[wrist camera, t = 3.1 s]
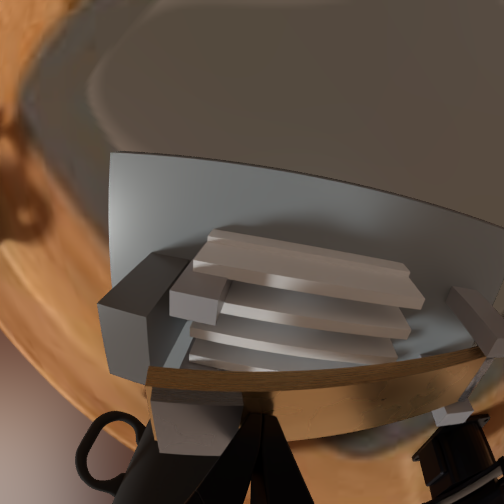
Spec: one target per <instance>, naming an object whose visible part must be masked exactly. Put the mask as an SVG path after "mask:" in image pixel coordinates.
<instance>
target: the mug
mask: <svg viewBox="0 0 504 504" xmlns="http://www.w3.org/2000/svg"><path fill="white" fill-rule="evenodd" d="M118 420H119V421H124V422H126V423H128V424H129V425H131V426H132V427H133V428H134V430H135V433H136V442H137V445H138V446H137V448H136V450H135V453H134V455H133V457H132V460H131V462H130V464H129V466H128V468H127V471H126V473H121V474H119V475H118V476H116V477H115V478H113V479H111V480H106V481H100V480H96V479H94V478H93V477H92V476H91V475H90V473H89V471H88V468H87V455H88V452H89V451H90V449H91V447H92V445H93V443H94V442H95V440H96V438H97V436H98V434H99V433H100V431H101V430H102V428H103V427H104V426H105V425H107V424H108V423H110V422H113V421H118ZM219 457H220V456H202V455H182V454H168V453H160V452H159V447H158V442H157V440H155V439H154V435H153V430H152V424H151V419H150V420H149V422H148V424H147V426H146V427H145V426H144V425H143V424H142V423H141V422H140V421H139V420H138V419H137V418H135V417H134V416H132V415H130V414H127V413H124V412H120V411H111V412H107V413H105V414H102V415H101V416H99V417H98V418H97V419H95V420H94V422H93V423H92V424H91V426H90V427H89V429H88V431H87V433H86V434H85V436H84V438H83V439H82V441H81V443H80V445H79V447H78V449H77V451H76V456H75V464H76V469H77V472H78V474H79V476H80V478H81V479H82V480H83V481H84V482H85V483H86V484H87V485H88V486H89V487H91V488H93V489H95V490H99V491H103V492H107V493H109V494H111V495H112V496H114V497H115V498H114V501H113V503H112V504H184V503H185V502H186V501H187V499H188V498H189V497H190V496H191V494H192V493H193V492H194V491H195V490H196V488H197V487H198V486H199V484H200V483H201V482H202V480H203V479H204V478H205V476H206V475H207V474H208V472H209V471H210V469H211V468H212V467H213V465H214V464H215V463H216V461H217V460H218V458H219Z"/></svg>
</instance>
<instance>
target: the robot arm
mask: <svg viewBox="0 0 504 504" xmlns="http://www.w3.org/2000/svg"><path fill="white" fill-rule="evenodd" d="M489 419H490V416H489V414H486V415H480V416H475V417H468V418H467V420H466V421H465V422H464V423H460V424H453V425H445V426H440V427H439V428H438V429H437V431H436V432H435V433H434V434H433V435H432V436H431V437H430V439H429V440H428V441H427V442H426V443H425V444H424V445H423V446H422V447H421V448H420V449H419V450H418V451H417V452H416V453H415V454H414V455H413V457H412V460H413V461H420V464H421V468H422V472H423V476H424V480H425V484H426V486H427V487H428V486H429V487H430V492H431V496H432V500H430V501H428V502H426V503H422V504H504V456H502V457H501V458H499V459H498V461H495V458H494V456H493V453H492V451H491V448H490V446H489V443H488V441H487V439H486V436H485V434H484V432H483V430H482V427H483V426H484V425H485V424H486V423H487V422H488V421H489ZM502 474H503V477H502V478H501V479H499V480H498V479H497V477H499V476H500V475H502ZM250 481H251V499H250V504H314V501H313V499H312V497H311V495H310V493H309V490H308V488H307V486H306V484H305V481H304V479H303V477H302V475H301V472H300V470H299V468H298V466H297V463H296V461H295V459H294V456H293V454H292V452H291V449H290V447H289V445H288V442H287V440H286V437H285V435H284V433H283V430H282V428H281V425H280V423H279V421H278V418H277V417H276V416H274V415H267V414H264V415H262V414H260V413H252V412H251V413H249V414H248V416H247V417H246V419H245V420H244V422H243V423H242V425H241V426H240V428H239V429H238V431H237V432H236V434H235V435H234V437H233V438H232V440H231V441H230V443H229V444H228V446H227V447H226V448H225V450H224V451H223V453H222V454H221V456H220V457H219V458H218V460H217V461H216V463H215V464H214V465H213V467H212V468H211V469H210V471H209V472H208V474H207V475H206V476H205V478H204V479H203V480H202V482H201V483H200V484H199V486H198V487H197V488H196V490H195V491H194V492H193V493H192V494H191V496H190V497H189V498H188V499H187V501H186V502H185V503H184V504H243V503H244V500H245V497H246V494H247V491H248V487H249V484H250Z"/></svg>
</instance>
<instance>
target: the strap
mask: <svg viewBox="0 0 504 504" xmlns="http://www.w3.org/2000/svg"><path fill="white" fill-rule="evenodd" d="M494 358H495V357H489V358H486V356H485V355H484V353H483V352H482V350H481V349H480V348H479V346H478V345H477V346H476V347H471V348H467V349H463V350H458V351H454V352H449V353H444V354H439V355H434V356H429V357H423V358H417V359H411V360H405V361H398V362H391V363H383V364H375V365H367V366H357V367H347V368H335V369H321V370H303V371H267V372H245V371H210V370H191V369H177V368H165V367H155V366H148V372H147V377H146V383H145V390H146V396H147V402H148V408H149V414H150V419H151V424H152V430H153V435H154V439H155V440H157V442H158V447H159V452H160V453H168V454H182V455H202V456H221V454H222V453H223V451H224V450H225V448H226V447H227V446H228V444H229V443H230V441H231V440H232V438H233V437H234V435H235V434H236V432H237V431H238V429H239V428H240V426H241V425H242V423H243V422H244V420H245V419H246V417H247V416H248V414H249V413H251V412H252V413H260V414H262V415H264V414H267V415H274V416H276V417H277V418H278V421H279V423H280V425H281V428H282V430H283V433H284V435H285V437H286V440H287V441H295V440H304V439H312V438H319V437H326V436H332V435H338V434H344V433H349V432H354V431H359V430H364V429H369V428H373V427H377V426H382V425H386V424H390V423H393V422H397V421H401V420H404V419H408V418H411V417H415V416H418V415H421V414H424V413H427V412H430V411H433V410H436V409H439V408H442V407H445V406H447V405H450V404H453V403H455V402H458V401H460V402H464V401H466V400H467V398H468V397H469V396H470V394H471V393H472V391H473V390H474V389H475V387H476V386H477V384H478V383H479V382H480V380H481V379H482V377H483V376H484V374H485V373H486V371H487V369H488V368H489V366H490V365H491V363H492V362H493V360H494Z"/></svg>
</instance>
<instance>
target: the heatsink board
mask: <svg viewBox="0 0 504 504" xmlns="http://www.w3.org/2000/svg"><path fill="white" fill-rule="evenodd" d="M109 248H110V266H111V280H112V289H111V290H110V291H109V292H108V293H107V294H106V295H105V296H104V297H103V298H102V299H101V300H100V301H99V302H98V303H97V306H98V313H99V319H100V325H101V331H102V337H103V342H104V347H105V352H106V357H107V362H108V366H109V371H110V374H113V375H116V376H119V377H122V378H125V379H127V380H130V381H133V382H137V383H140V384H143V385H145V383H146V377H147V372H148V366H155V367H165V368H177V369H191V370H210V371H245V372H267V371H303V370H321V369H335V368H347V367H357V366H367V365H375V364H383V363H391V362H398V361H405V360H411V359H417V358H423V357H429V356H434V355H439V354H444V353H449V352H454V351H458V350H463V349H467V348H471V347H472V345H473V343H474V341H475V342H476V343H477V345H478V346H479V348H480V349H481V350H482V352H483V353H484V355H485V356H486V358H489V357H504V318H503V317H502V316H501V315H500V314H499V313H498V312H497V310H496V309H495V308H493V303H494V301H495V299H496V296H497V294H498V292H499V290H500V287H501V285H502V282H503V280H504V228H503V227H500V226H498V225H495V224H492V223H490V222H487V221H484V220H481V219H478V218H475V217H472V216H469V215H466V214H463V213H460V212H457V211H454V210H451V209H448V208H444V207H441V206H438V205H435V204H431V203H428V202H424V201H421V200H418V199H413V198H410V197H407V196H403V195H399V194H396V193H392V192H388V191H384V190H380V189H376V188H372V187H368V186H363V185H359V184H355V183H350V182H346V181H341V180H337V179H332V178H327V177H322V176H317V175H312V174H307V173H302V172H296V171H290V170H285V169H279V168H273V167H267V166H260V165H254V164H247V163H240V162H232V161H226V160H217V159H209V158H200V157H191V156H181V155H170V154H158V153H145V152H127V151H118V152H111V155H110V173H109ZM473 411H474V410H473V408H472V406H471V404H470V402H469V400H468V398H467V400H466V401H464V402H460V401H458V402H455V403H453V404H450V405H447V406H445V407H442V408H439V409H436V410H433V411H431V412H432V414H433V417H434V420H435V422H436V425H437V426H445V425H453V424H460V423H464V422H465V421H466V420H467V418H468V417H469V416H470V415H471V414H472V412H473Z"/></svg>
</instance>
